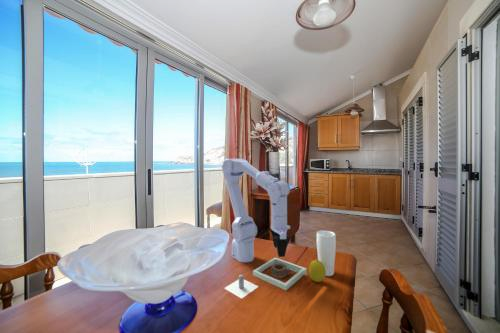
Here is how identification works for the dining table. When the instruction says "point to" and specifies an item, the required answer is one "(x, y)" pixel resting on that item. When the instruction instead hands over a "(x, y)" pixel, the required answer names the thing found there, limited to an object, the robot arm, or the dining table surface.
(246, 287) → the white base with peg
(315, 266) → the lemon
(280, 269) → the ring
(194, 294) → the dining table surface
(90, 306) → the dining table surface
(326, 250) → the drinking glass
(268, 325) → the dining table surface
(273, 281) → the tray
